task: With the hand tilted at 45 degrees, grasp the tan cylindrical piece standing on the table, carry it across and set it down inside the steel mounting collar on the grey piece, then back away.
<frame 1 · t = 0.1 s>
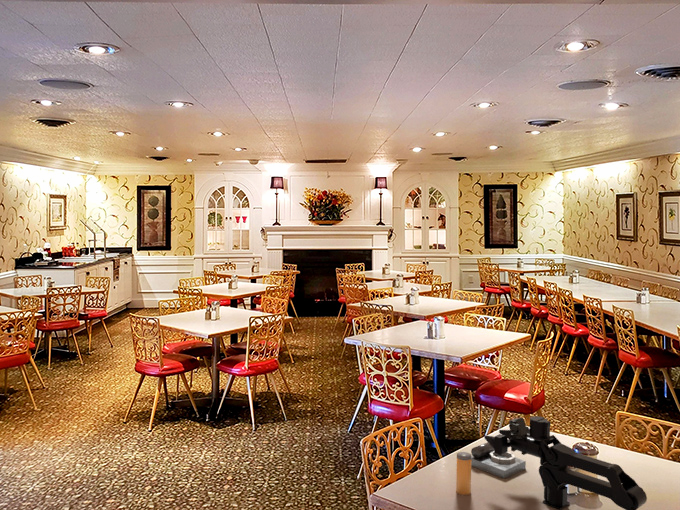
hand: (492, 434, 210), 16 cm above the table, tool horizontal, fingers open, 9 cm apart
tan cylindrical piece: (463, 491, 199), on the table
grey piece: (496, 466, 220), on the table
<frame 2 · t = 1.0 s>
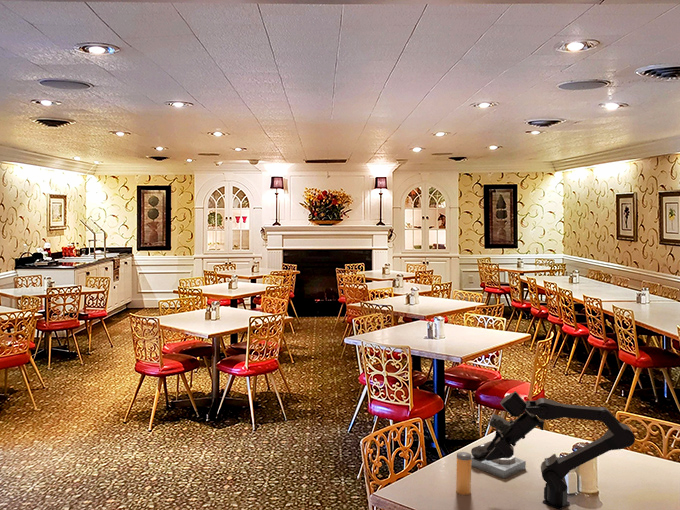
hand: (486, 454, 197), 14 cm above the table, tool tilted 45°, fingers open, 9 cm apart
nothing on the table moved.
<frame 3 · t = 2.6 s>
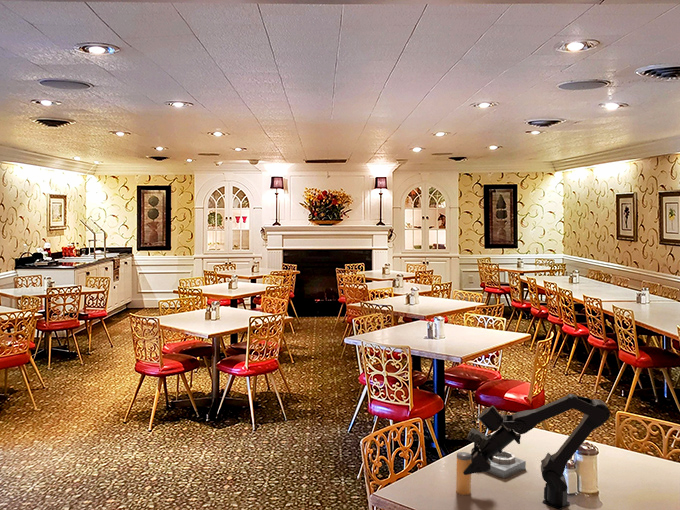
hand: (464, 468, 199), 8 cm above the table, tool tilted 45°, fingers open, 9 cm apart
nothing on the table moved.
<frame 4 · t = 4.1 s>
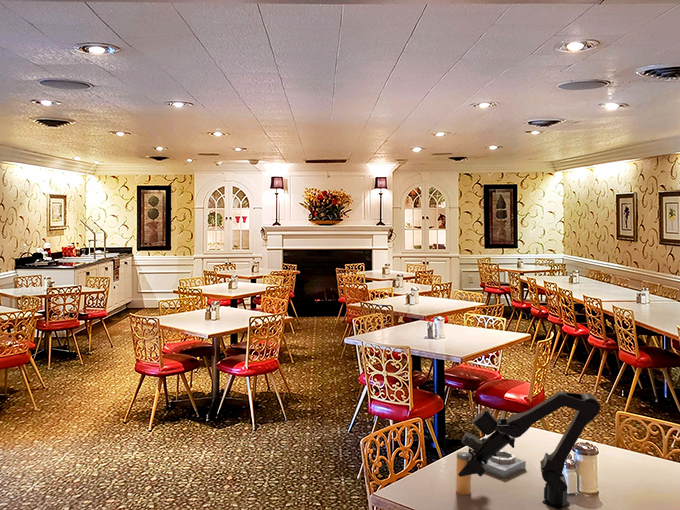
hand: (459, 472, 199), 7 cm above the table, tool tilted 45°, fingers closed on tan cylindrical piece, 5 cm apart
tan cylindrical piece: (463, 491, 199), on the table, touching gripper
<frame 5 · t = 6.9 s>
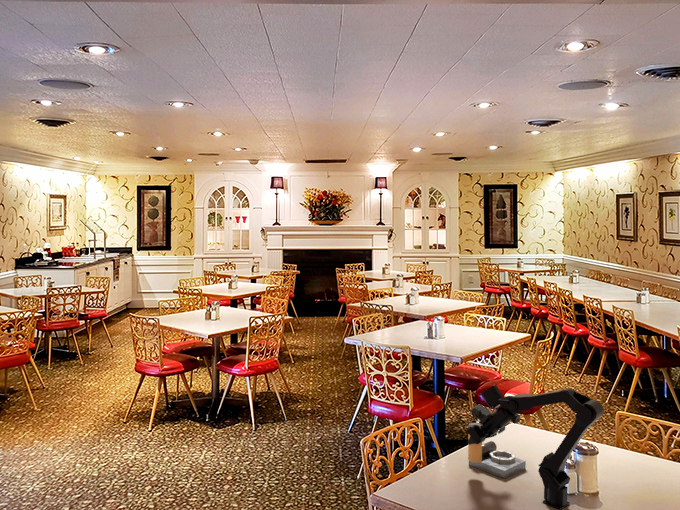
hand: (472, 441, 213), 12 cm above the table, tool tilted 45°, fingers closed on tan cylindrical piece, 5 cm apart
tan cylindrical piece: (475, 459, 212), point 6 cm above the table, touching gripper
when the fingers open (10 cm above the table, at t = 9.5 s): tan cylindrical piece stays where it is, resting on grey piece.
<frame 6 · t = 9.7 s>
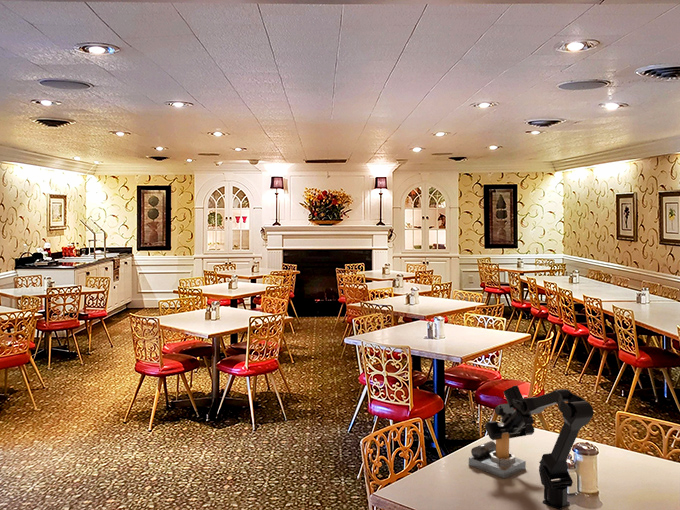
hand: (500, 438, 222), 11 cm above the table, tool tilted 45°, fingers open, 7 cm apart
tan cylindrical piece: (502, 458, 221), point 3 cm above the table, touching grey piece
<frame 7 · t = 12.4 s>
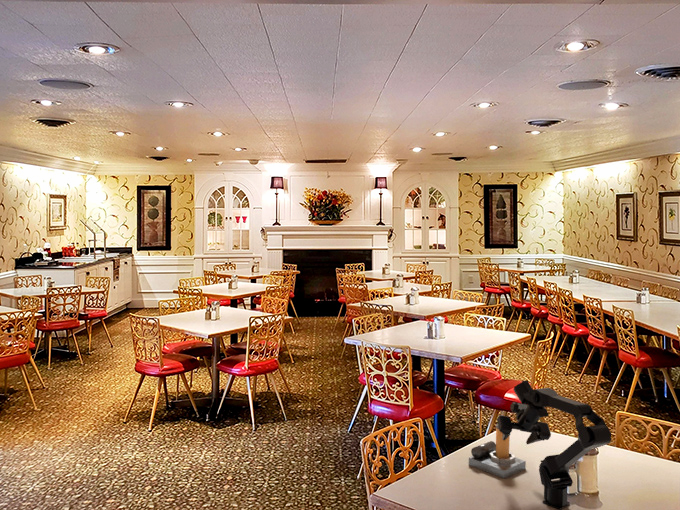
hand: (515, 441, 212), 13 cm above the table, tool tilted 35°, fingers open, 9 cm apart
nothing on the table moved.
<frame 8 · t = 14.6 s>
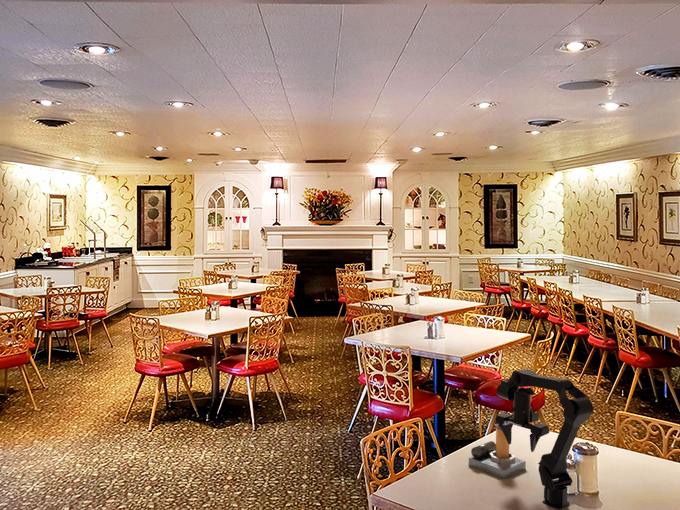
hand: (520, 447, 205), 13 cm above the table, tool pointing down, fingers open, 9 cm apart
nothing on the table moved.
at the end: tan cylindrical piece 0.0 cm from the target spot on the grey piece, point 3.0 cm above the grey piece's base; tan cylindrical piece tilted 0°; the gripper is holding nothing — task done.
